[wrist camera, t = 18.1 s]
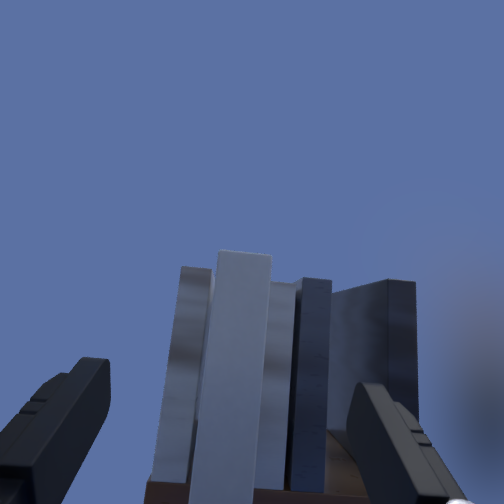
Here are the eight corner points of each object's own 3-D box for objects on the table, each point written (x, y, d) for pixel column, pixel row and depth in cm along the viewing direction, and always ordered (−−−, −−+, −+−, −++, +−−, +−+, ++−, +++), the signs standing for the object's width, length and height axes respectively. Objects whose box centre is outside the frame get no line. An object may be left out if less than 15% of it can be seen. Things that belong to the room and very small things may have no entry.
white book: (243, 617, 10) (272, 254, 13) (175, 613, 10) (218, 248, 13) (233, 421, 30) (246, 294, 32) (210, 419, 29) (225, 292, 32)
